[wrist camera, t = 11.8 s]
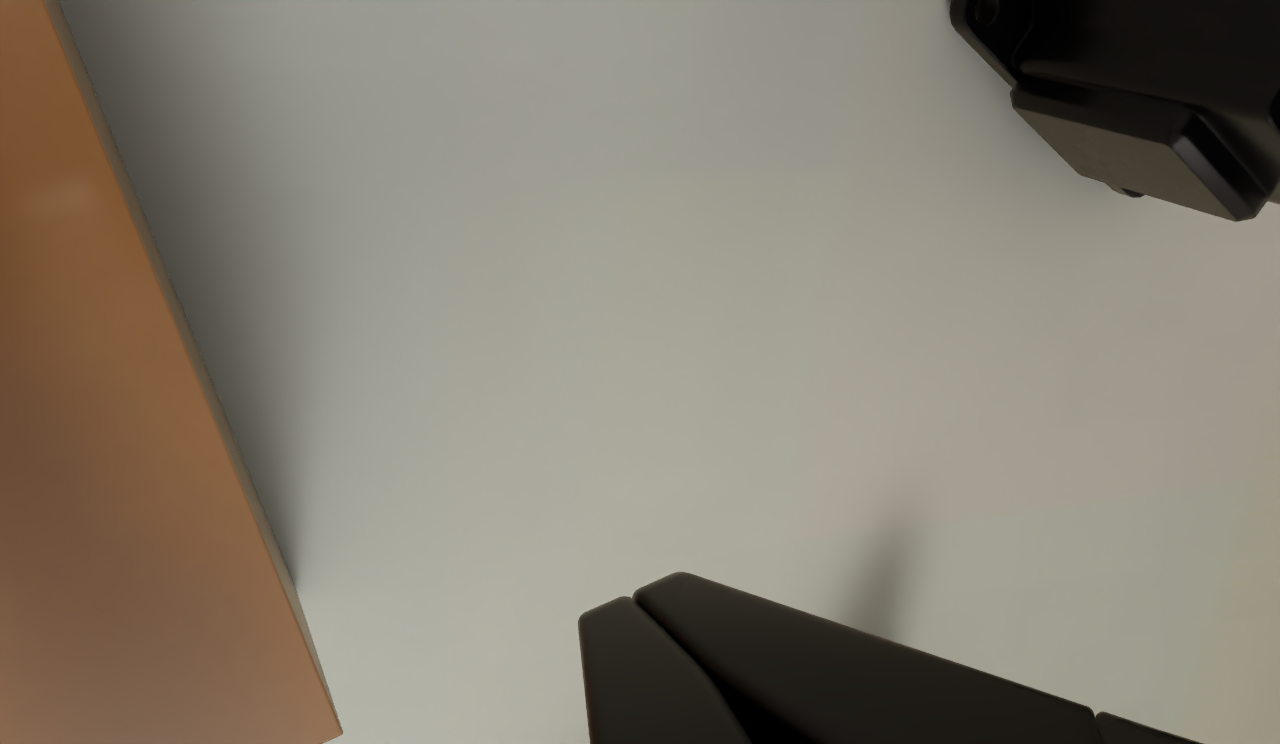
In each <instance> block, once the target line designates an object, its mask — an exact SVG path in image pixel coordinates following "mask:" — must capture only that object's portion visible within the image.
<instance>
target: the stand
mask: <svg viewBox="0 0 1280 744" xmlns="http://www.w3.org/2000/svg"><path fill="white" fill-rule="evenodd" d="M342 734H343V730H342V727H341V724H340V721H339V719H338V716H337V713H336V709H335V706H334V703H333V700H332V697H331V694H330V691H329V688H328V685H327V682H326V679H325V676H324V673H323V670H322V667H321V664H320V661H319V658H318V655H317V652H316V649H315V646H314V643H313V640H312V637H311V634H310V631H309V628H308V624H307V621H306V618H305V615H304V612H303V609H302V606H301V603H300V600H299V597H298V594H297V592H296V589H295V587H294V584H293V582H292V579H291V577H290V574H289V572H288V569H287V567H286V565H285V562H284V560H283V557H282V555H281V552H280V550H279V547H278V545H277V542H276V540H275V537H274V535H273V532H272V530H271V527H270V525H269V522H268V520H267V517H266V515H265V512H264V510H263V507H262V505H261V502H260V500H259V498H258V495H257V493H256V490H255V488H254V485H253V483H252V480H251V478H250V475H249V473H248V470H247V468H246V465H245V463H244V460H243V458H242V455H241V453H240V450H239V448H238V445H237V443H236V440H235V438H234V436H233V433H232V431H231V428H230V426H229V423H228V421H227V418H226V416H225V413H224V411H223V408H222V406H221V403H220V401H219V398H218V396H217V393H216V391H215V388H214V386H213V383H212V381H211V378H210V376H209V374H208V371H207V369H206V366H205V364H204V361H203V359H202V356H201V354H200V351H199V349H198V346H197V344H196V341H195V339H194V336H193V334H192V331H191V329H190V326H189V324H188V321H187V319H186V316H185V314H184V312H183V309H182V307H181V304H180V302H179V299H178V297H177V294H176V292H175V289H174V287H173V284H172V282H171V279H170V277H169V274H168V272H167V269H166V267H165V264H164V262H163V259H162V257H161V254H160V252H159V250H158V247H157V245H156V242H155V240H154V237H153V235H152V232H151V230H150V227H149V225H148V222H147V220H146V217H145V215H144V212H143V210H142V207H141V205H140V202H139V200H138V197H137V195H136V192H135V190H134V188H133V185H132V183H131V180H130V178H129V175H128V173H127V170H126V168H125V165H124V163H123V160H122V158H121V155H120V153H119V150H118V148H117V145H116V143H115V140H114V138H113V135H112V133H111V130H110V128H109V126H108V123H107V121H106V118H105V116H104V113H103V111H102V108H101V106H100V103H99V101H98V98H97V96H96V93H95V91H94V88H93V86H92V83H91V81H90V78H89V76H88V73H87V71H86V68H85V66H84V64H83V61H82V59H81V56H80V54H79V51H78V49H77V46H76V44H75V41H74V39H73V36H72V34H71V31H70V29H69V26H68V24H67V21H66V19H65V16H64V14H63V11H62V9H61V6H60V4H59V1H58V0H0V744H322V743H324V742H327V741H329V740H331V739H333V738H336V737H338V736H340V735H342Z"/></svg>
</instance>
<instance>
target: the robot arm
mask: <svg viewBox="0 0 1280 744" xmlns="http://www.w3.org/2000/svg"><path fill="white" fill-rule="evenodd" d="M978 1H979V0H952V1H951V7H950V18H951V23H952V25H953V27H954V28H955V30H956V31H957V32H958V33H959V34H960V35H961V36H962V38H963V39H964V40H965V41H966V42H967V43H968V44H969V45H970V46H971V47H972V48H973V49H974V50H975V51H976V52H977V53H978V54H979V55H980V56H981V57H982V58H983V59H984V60H985V61H986V62H987V63H988V64H989V65H990V66H991V67H992V68H993V69H994V70H995V71H996V72H997V73H998V74H999V75H1000V76H1001V77H1002V78H1003V79H1004V80H1005V81H1006V82H1007V83H1008V84H1009V85H1010V86H1011V87H1012V88H1013V89H1012V90H1011V92H1010V97H1011V102H1012V106H1013V109H1014V110H1015V111H1016V112H1017V113H1018V114H1019V115H1020V116H1021V117H1022V118H1023V119H1024V120H1025V121H1026V122H1027V123H1028V124H1029V125H1030V126H1031V127H1032V128H1033V129H1034V130H1035V131H1036V132H1037V133H1038V134H1039V135H1040V136H1041V137H1042V138H1043V139H1044V140H1045V141H1046V142H1047V143H1048V144H1049V145H1050V146H1051V147H1052V148H1053V149H1054V150H1055V151H1056V152H1057V153H1058V154H1059V155H1060V156H1061V157H1062V158H1063V159H1064V160H1065V161H1066V162H1067V163H1068V164H1069V165H1070V166H1071V167H1072V168H1073V169H1074V170H1075V171H1076V172H1077V173H1079V174H1080V175H1082V176H1085V177H1088V178H1091V179H1095V180H1098V181H1101V182H1105V183H1107V184H1108V185H1109V186H1110V187H1111V188H1112V189H1113V190H1114V191H1116V192H1118V193H1120V194H1123V195H1127V196H1130V197H1133V198H1134V197H1142V196H1144V195H1148V196H1151V197H1155V198H1158V199H1162V200H1165V201H1168V202H1172V203H1175V204H1178V205H1182V206H1185V207H1188V208H1192V209H1195V210H1198V211H1202V212H1205V213H1208V214H1212V215H1215V216H1218V217H1222V218H1225V219H1228V220H1232V221H1236V222H1238V221H1243V220H1248V219H1253V218H1255V217H1256V216H1257V214H1258V213H1259V211H1260V210H1261V209H1262V207H1263V206H1264V204H1265V203H1266V202H1267V201H1270V202H1273V203H1277V204H1280V0H983V2H984V10H983V12H982V14H981V17H980V18H979V19H977V20H976V18H975V7H976V5H977V3H978ZM578 630H579V640H580V649H581V659H582V669H583V679H584V688H585V698H586V708H587V717H588V727H589V737H590V744H1203V743H1199V742H1196V741H1193V740H1190V739H1187V738H1183V737H1180V736H1177V735H1174V734H1170V733H1167V732H1164V731H1161V730H1157V729H1154V728H1151V727H1148V726H1145V725H1142V724H1139V723H1136V722H1133V721H1130V720H1127V719H1124V718H1121V717H1118V716H1116V715H1113V714H1110V713H1107V712H1099V713H1098V714H1097V715H1096V718H1095V716H1094V712H1093V711H1092V709H1091V708H1089V707H1087V706H1084V705H1081V704H1078V703H1075V702H1072V701H1069V700H1066V699H1063V698H1060V697H1057V696H1054V695H1051V694H1048V693H1045V692H1043V691H1040V690H1037V689H1034V688H1031V687H1028V686H1025V685H1022V684H1019V683H1016V682H1013V681H1010V680H1007V679H1004V678H1001V677H998V676H995V675H992V674H989V673H986V672H983V671H980V670H977V669H974V668H971V667H968V666H965V665H962V664H959V663H956V662H953V661H950V660H947V659H944V658H941V657H938V656H935V655H932V654H929V653H926V652H923V651H920V650H917V649H914V648H911V647H908V646H905V645H902V644H899V643H896V642H893V641H890V640H887V639H884V638H881V637H878V636H875V635H872V634H869V633H866V632H863V631H860V630H857V629H854V628H851V627H848V626H845V625H842V624H839V623H836V622H833V621H830V620H827V619H824V618H821V617H818V616H815V615H812V614H809V613H806V612H803V611H800V610H797V609H794V608H791V607H788V606H785V605H782V604H779V603H776V602H773V601H771V600H768V599H765V598H762V597H759V596H756V595H753V594H750V593H747V592H744V591H741V590H738V589H735V588H732V587H729V586H726V585H723V584H720V583H717V582H714V581H711V580H708V579H705V578H702V577H699V576H696V575H693V574H690V573H686V572H676V573H673V574H671V575H668V576H666V577H664V578H662V579H659V580H657V581H655V582H653V583H650V584H648V585H646V586H644V587H641V588H639V589H638V590H636V591H635V593H634V594H633V597H632V598H630V597H626V596H624V597H619V598H617V599H614V600H612V601H610V602H607V603H605V604H603V605H601V606H598V607H596V608H594V609H592V610H589V611H587V612H585V613H583V614H582V615H581V616H580V618H579V620H578Z"/></svg>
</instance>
